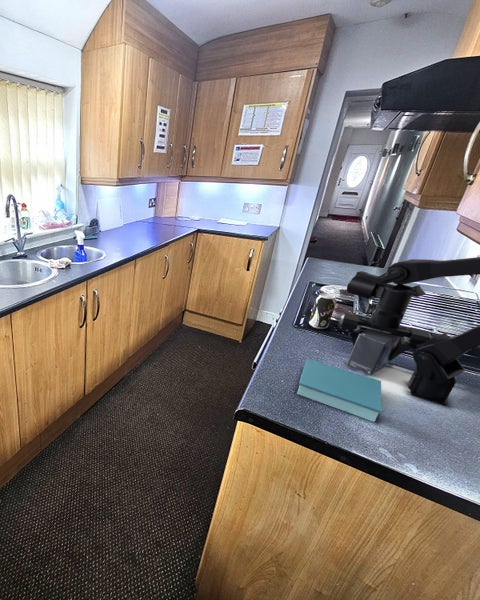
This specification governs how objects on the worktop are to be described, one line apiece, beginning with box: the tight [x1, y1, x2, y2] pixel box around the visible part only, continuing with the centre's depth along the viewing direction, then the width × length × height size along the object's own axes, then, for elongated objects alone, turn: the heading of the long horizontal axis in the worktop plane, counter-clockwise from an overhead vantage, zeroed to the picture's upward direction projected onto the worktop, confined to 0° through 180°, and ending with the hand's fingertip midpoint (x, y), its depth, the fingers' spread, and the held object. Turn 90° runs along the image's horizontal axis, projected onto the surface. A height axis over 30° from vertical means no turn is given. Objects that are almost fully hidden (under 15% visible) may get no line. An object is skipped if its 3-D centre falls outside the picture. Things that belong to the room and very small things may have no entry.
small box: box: [346, 329, 400, 376], centre depth 93 cm, size 11×6×10 cm, turn 120°
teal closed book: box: [296, 358, 383, 423], centre depth 83 cm, size 16×14×4 cm
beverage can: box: [308, 292, 337, 330], centre depth 115 cm, size 6×6×12 cm
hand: (371, 355), depth 93 cm, fingers closed on small box, 7 cm apart
